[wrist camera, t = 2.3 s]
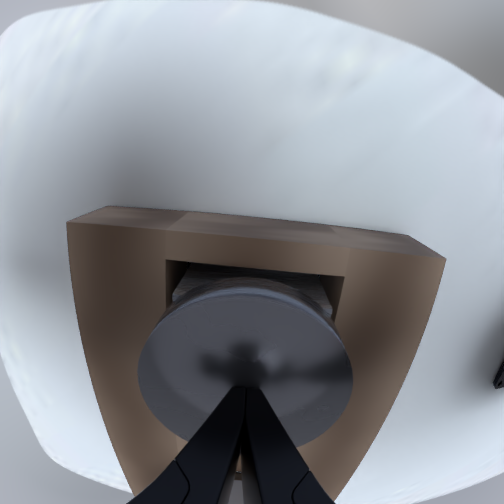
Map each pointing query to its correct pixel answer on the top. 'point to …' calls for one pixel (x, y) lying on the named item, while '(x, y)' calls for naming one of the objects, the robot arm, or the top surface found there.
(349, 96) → the top surface
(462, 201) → the top surface
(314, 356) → the charcoal plunger
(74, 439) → the top surface
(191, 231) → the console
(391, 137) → the top surface
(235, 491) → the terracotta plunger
